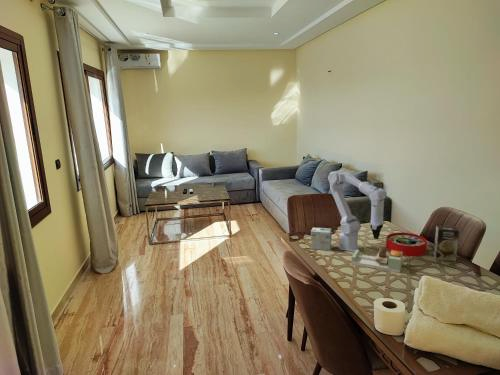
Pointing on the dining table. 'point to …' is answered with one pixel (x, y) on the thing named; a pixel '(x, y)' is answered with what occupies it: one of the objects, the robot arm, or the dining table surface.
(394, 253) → the button
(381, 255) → the carriage
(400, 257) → the rail
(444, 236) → the coffee box
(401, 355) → the dining table surface
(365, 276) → the dining table surface
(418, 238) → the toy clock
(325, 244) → the light bulb box
